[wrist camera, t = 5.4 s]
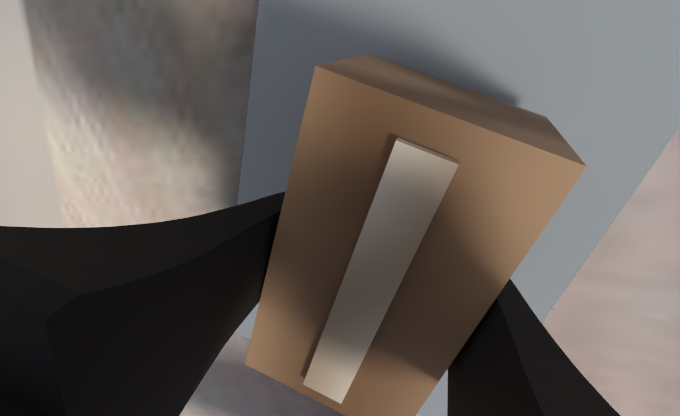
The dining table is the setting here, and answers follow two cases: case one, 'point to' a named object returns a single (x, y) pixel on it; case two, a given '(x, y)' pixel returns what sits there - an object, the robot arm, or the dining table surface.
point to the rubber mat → (494, 81)
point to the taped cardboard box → (398, 232)
